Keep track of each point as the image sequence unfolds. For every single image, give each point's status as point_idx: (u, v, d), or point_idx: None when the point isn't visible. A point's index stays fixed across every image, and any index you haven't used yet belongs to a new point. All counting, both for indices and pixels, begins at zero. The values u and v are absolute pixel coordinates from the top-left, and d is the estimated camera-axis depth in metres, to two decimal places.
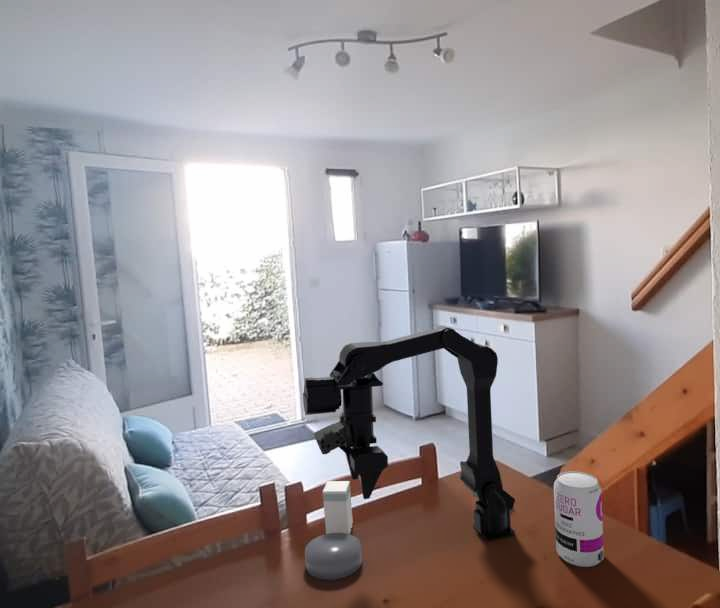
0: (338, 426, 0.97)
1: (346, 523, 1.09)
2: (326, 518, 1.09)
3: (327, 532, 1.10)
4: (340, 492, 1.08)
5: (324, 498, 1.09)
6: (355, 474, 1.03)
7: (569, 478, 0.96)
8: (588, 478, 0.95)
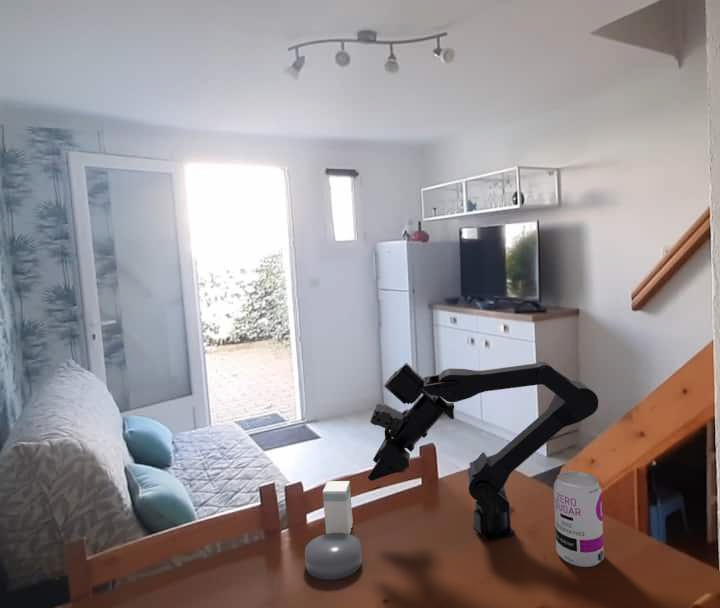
0: (397, 415, 1.07)
1: (346, 523, 1.09)
2: (326, 518, 1.09)
3: (327, 532, 1.10)
4: (340, 492, 1.08)
5: (324, 498, 1.09)
6: (377, 458, 1.14)
7: (569, 478, 0.96)
8: (588, 478, 0.95)
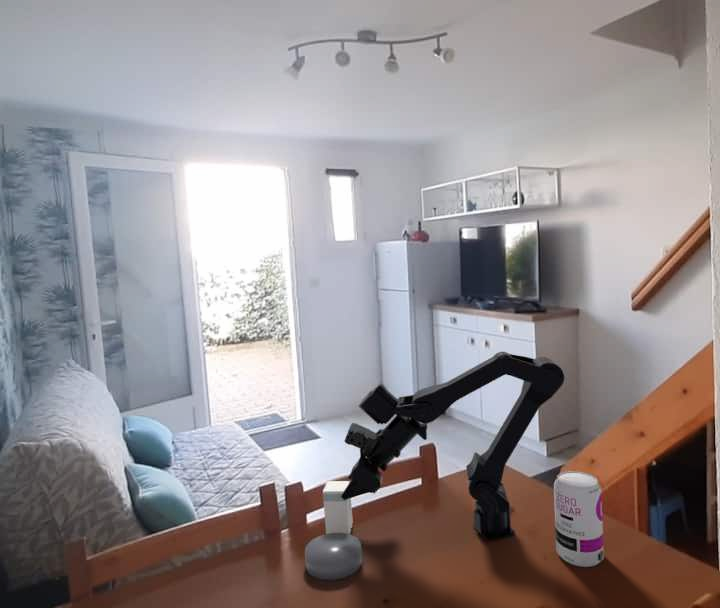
0: (371, 435, 1.08)
1: (346, 523, 1.09)
2: (326, 518, 1.09)
3: (327, 532, 1.10)
4: (340, 492, 1.08)
5: (324, 498, 1.09)
6: None
7: (569, 478, 0.96)
8: (588, 478, 0.95)
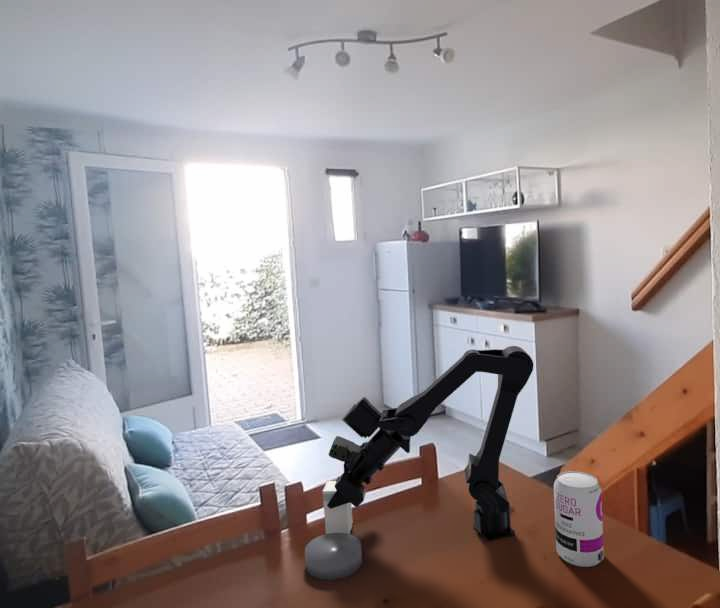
0: (355, 448, 1.09)
1: (346, 523, 1.09)
2: (326, 518, 1.09)
3: (327, 532, 1.10)
4: None
5: (324, 498, 1.09)
6: None
7: (569, 478, 0.96)
8: (588, 478, 0.95)
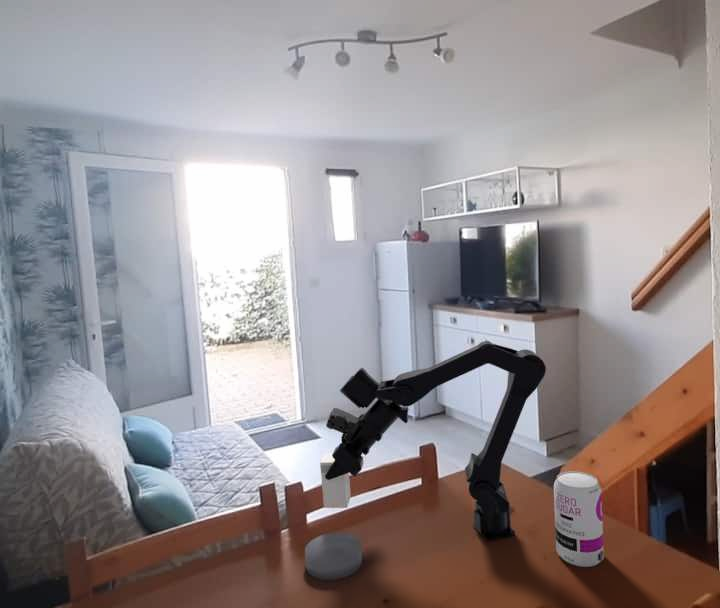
0: (353, 419, 1.09)
1: (344, 494, 1.08)
2: (324, 489, 1.09)
3: (325, 504, 1.09)
4: None
5: (322, 469, 1.08)
6: None
7: (569, 478, 0.96)
8: (588, 478, 0.95)
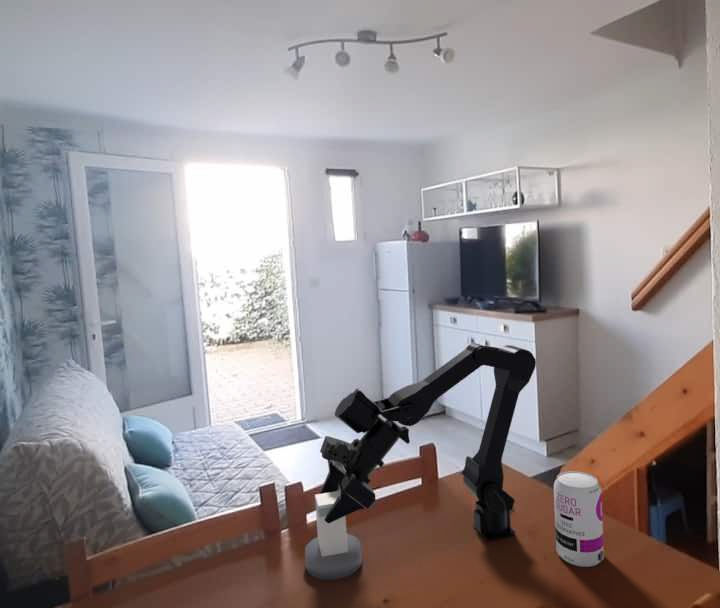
0: (350, 446, 0.99)
1: (345, 538, 0.97)
2: (322, 536, 0.96)
3: (323, 552, 0.97)
4: None
5: (320, 513, 0.96)
6: None
7: (570, 478, 0.96)
8: (588, 478, 0.95)
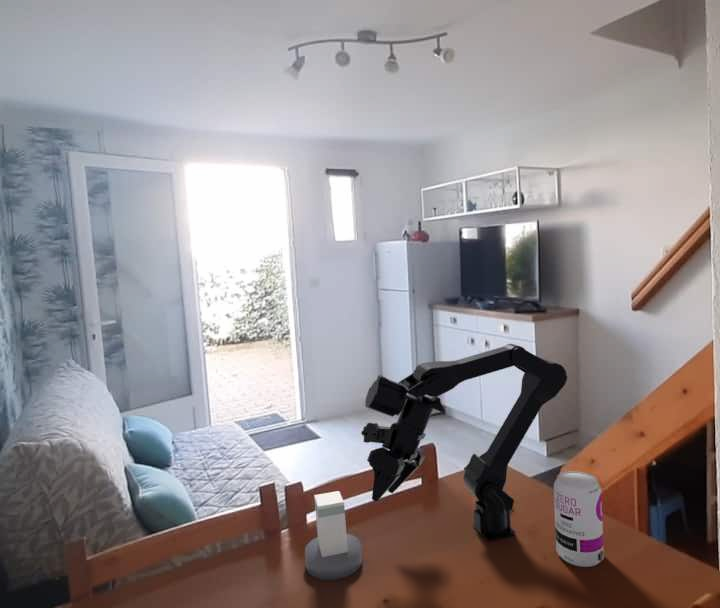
0: (388, 428, 1.04)
1: (344, 538, 0.97)
2: (322, 536, 0.96)
3: (323, 552, 0.97)
4: (338, 504, 0.97)
5: (320, 514, 0.96)
6: (392, 488, 1.06)
7: (569, 478, 0.96)
8: (588, 478, 0.95)
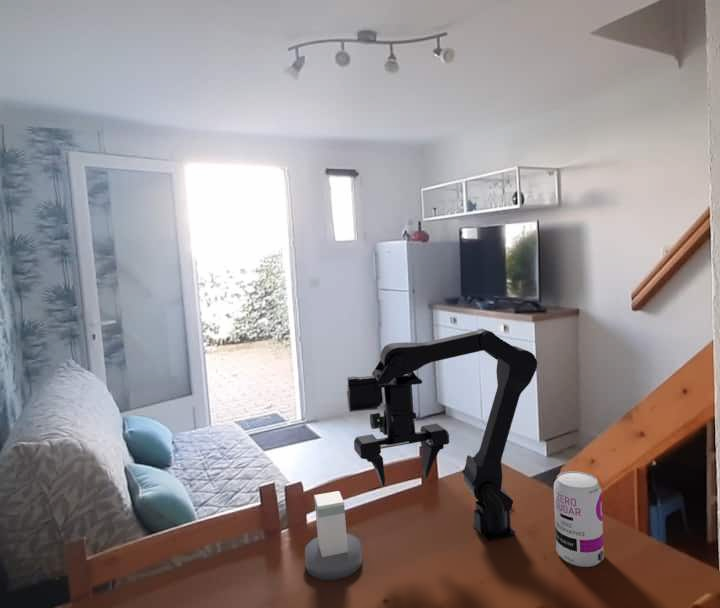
0: None
1: (344, 538, 0.97)
2: (322, 536, 0.96)
3: (323, 552, 0.97)
4: (338, 504, 0.97)
5: (320, 514, 0.96)
6: (424, 472, 1.05)
7: (569, 478, 0.96)
8: (588, 478, 0.95)
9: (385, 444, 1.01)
